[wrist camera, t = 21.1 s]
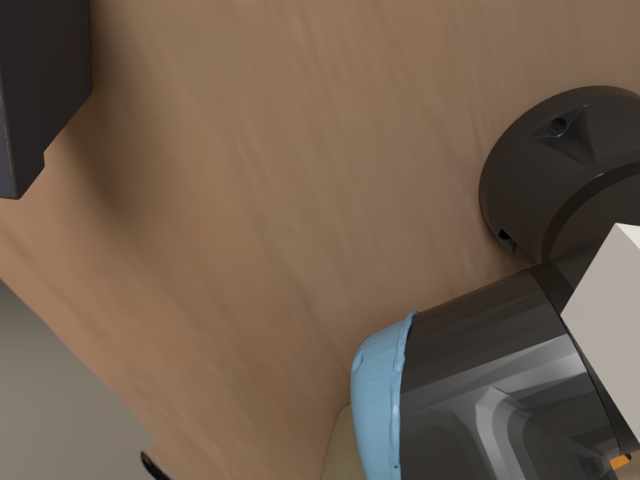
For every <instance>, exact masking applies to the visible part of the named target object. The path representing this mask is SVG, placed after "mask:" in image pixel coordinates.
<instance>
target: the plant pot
mask: <svg viewBox="0 0 640 480" xmlns="http://www.w3.org/2000/svg"><path fill="white" fill-rule="evenodd" d="M320 480H367V479H366V476H365V473H364V470H363V466H362V463H361V459H360V455H359V451H358V447H357V442H356V437H355V432H354V425H353V418H352V410H351V403H350V404H349V405H347V406H346V407H345V408H343V409H342V410H341V412H340V413H339V415H338V417H337V420H336V422H335V425H334V428H333V431H332V434H331V437H330V441H329V444H328V448H327V451H326V455H325V459H324V463H323V467H322V472H321V476H320Z"/></svg>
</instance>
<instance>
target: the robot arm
mask: <svg viewBox="0 0 640 480" xmlns="http://www.w3.org/2000/svg"><path fill="white" fill-rule="evenodd" d="M479 200H480V206H481V210H482V213H483V215H484V218H485V220H486V221H487V223H488V225H489V227H490V228H491V230H492V232H493V233H494V235H495V237H496V238H497V239H498V241H499V242H500V243H501V244H502V245H503V246H504V247H505V248H506V249H507V250H508V251H510V252H511V253H512V254H514V255H516V256H517V257H519V258H520V259H522V260H523V261H525V262H526V263H528V264H530V265H531V266H533V267H531V268H528V269H524V270H522V271H520V272H517V273H515V274H513V275H510V276H508V277H505V278H503V279H501V280H498V281H496V282H493V283H491V284H489V285H486V286H484V287H481V288H479V289H477V290H474V291H472V292H470V293H467V294H465V295H462V296H460V297H458V298H455V299H453V300H450V301H448V302H446V303H443V304H441V305H438V306H436V307H433V308H431V309H428V310H425V311H423V312H418V311H414V312H411V313H409V314H408V315H407V316H406V318H405V319H403V320H401V321H399V322H396V323H394V324H392V325H390V326H388V327H386V328H384V329H382V330H380V331H377V332H375V333H373V334H372V335H370V336H368V337H367V338H366V339H365V340H364V341H363V342H362V343H361V344H360V346H359V347H358V349H357V351H356V353H355V356H354V359H353V363H352V370H351V379H350V397H351V410H352V418H353V425H354V432H355V437H356V442H357V447H358V451H359V455H360V459H361V463H362V466H363V470H364V473H365V476H366V479H367V480H618V478H617V476H616V474H615V472H614V470H613V468H612V466H611V463H610V460H611V459H614V458H616V457H619V456H621V455H625V454H628V453H631V452H634V451H637V450H640V96H639V95H637V94H635V93H633V92H631V91H628V90H625V89H622V88H618V87H611V86H589V87H582V88H577V89H573V90H569V91H566V92H563V93H560V94H558V95H555V96H553V97H551V98H549V99H547V100H545V101H543V102H541V103H539V104H538V105H536V106H534V107H533V108H531V109H530V110H528V111H527V112H526V113H524V114H523V115H522V116H521V117H520V118H518V119H517V120H516V121H515V122H514V123H513V124H512V125H511V126H510V127H509V128H508V129H507V130H506V131H505V132H504V133H503V135H502V136H501V137H500V138H499V140H498V141H497V143H496V144H495V146H494V147H493V149H492V150H491V152H490V154H489V156H488V158H487V160H486V163H485V165H484V168H483V171H482V175H481V179H480V186H479Z"/></svg>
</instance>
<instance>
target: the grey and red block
mask: <svg viewBox="0 0 640 480" xmlns="http://www.w3.org/2000/svg"><path fill="white" fill-rule="evenodd" d="M91 92H92V70H91V46H90V23H89V0H0V198H6V199H15V200H18V199H20V198H21V197H22V196H23V195H24V193H25V192H26V191H27V189H28V188H29V187H30V186H31V184H32V183H33V182H34V180H35V179H36V178H37V176H38V175H39V174H40V173H41V171H42V170H43V169H44V166H45V164H44V153H43V152H44V151H45V150H46V149H47V147H48V146H49V145H50V144H51V142H52V141H53V140H54V139H55V137H56V136H57V135H58V134H59V133H60V131H61V130H62V129H63V128H64V126H65V125H66V124H67V123H68V121H69V120H70V119H71V118H72V117H73V115H74V114H75V113H76V112H77V110H78V109H79V108H80V107H81V105H82V104H83V103H84V102H85V101H86V99H87V98H88V97H89V96H90V94H91Z"/></svg>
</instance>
